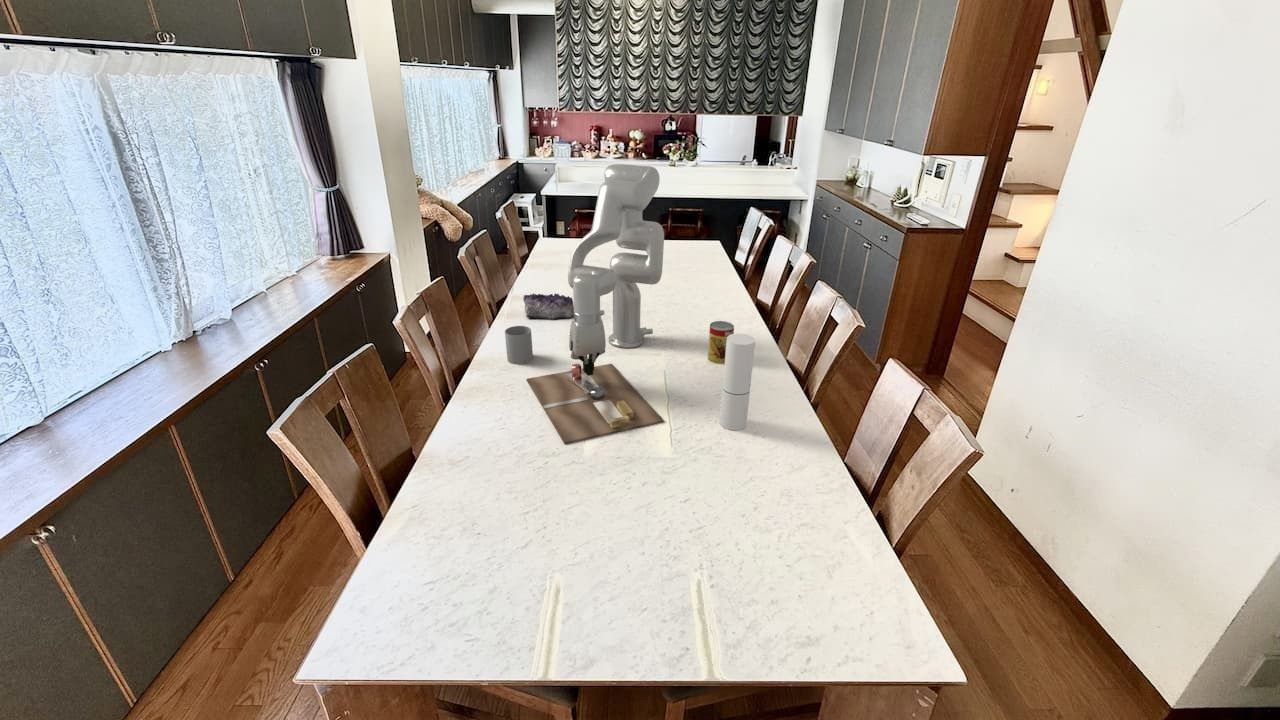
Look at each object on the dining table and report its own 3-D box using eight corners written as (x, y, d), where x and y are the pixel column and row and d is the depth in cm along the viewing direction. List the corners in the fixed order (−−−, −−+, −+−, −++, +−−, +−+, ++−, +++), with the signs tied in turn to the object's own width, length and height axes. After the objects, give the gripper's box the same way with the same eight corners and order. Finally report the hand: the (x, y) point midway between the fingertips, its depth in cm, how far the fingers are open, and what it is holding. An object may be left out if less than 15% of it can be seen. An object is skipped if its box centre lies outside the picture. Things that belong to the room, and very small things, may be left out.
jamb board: (611, 365, 194) (611, 357, 193) (663, 421, 163) (663, 413, 161) (526, 380, 183) (526, 372, 182) (564, 444, 152) (564, 435, 151)
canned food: (730, 365, 195) (733, 331, 190) (706, 362, 197) (708, 328, 192) (731, 355, 202) (734, 322, 197) (708, 352, 204) (711, 319, 199)
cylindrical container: (748, 419, 164) (757, 335, 154) (743, 432, 158) (752, 346, 148) (722, 414, 166) (729, 331, 156) (717, 427, 160) (724, 342, 150)
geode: (576, 310, 239) (576, 287, 233) (573, 325, 229) (573, 301, 224) (525, 307, 239) (524, 284, 233) (520, 321, 229) (518, 298, 224)
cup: (527, 365, 193) (525, 336, 188) (503, 362, 194) (500, 334, 190) (536, 354, 200) (534, 327, 196) (513, 352, 202) (511, 324, 197)
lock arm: (607, 396, 173) (606, 380, 171) (595, 400, 171) (595, 384, 168) (575, 375, 185) (575, 359, 183) (564, 378, 183) (563, 362, 181)
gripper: (605, 308, 179) (605, 363, 187) (558, 316, 172) (560, 373, 180) (616, 317, 173) (616, 373, 181) (568, 325, 166) (570, 384, 174)
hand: (588, 373), depth 181 cm, fingers closed
